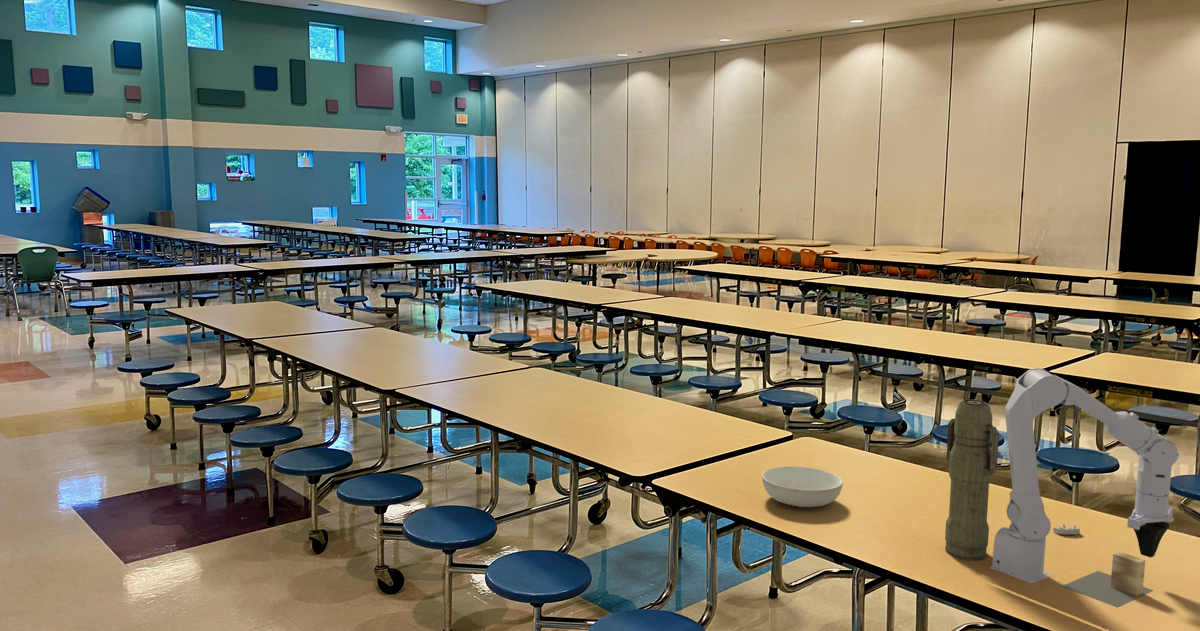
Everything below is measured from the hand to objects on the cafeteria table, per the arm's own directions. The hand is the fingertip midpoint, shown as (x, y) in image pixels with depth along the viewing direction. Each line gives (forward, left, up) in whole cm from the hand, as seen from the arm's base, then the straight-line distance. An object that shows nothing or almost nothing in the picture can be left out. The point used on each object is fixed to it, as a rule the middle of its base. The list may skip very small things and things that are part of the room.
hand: (1147, 555), depth 175 cm
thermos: (-30, -17, -7) cm, 35 cm away
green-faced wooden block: (0, -8, -6) cm, 10 cm away
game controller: (-22, +13, -7) cm, 26 cm away
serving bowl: (-74, -24, -7) cm, 78 cm away
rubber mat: (-3, -10, -6) cm, 12 cm away
